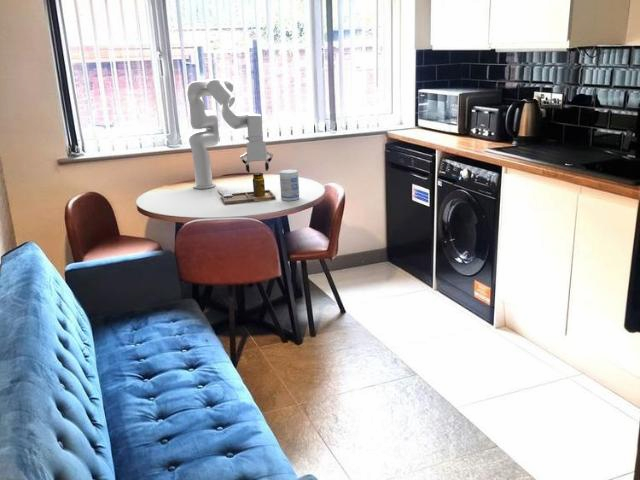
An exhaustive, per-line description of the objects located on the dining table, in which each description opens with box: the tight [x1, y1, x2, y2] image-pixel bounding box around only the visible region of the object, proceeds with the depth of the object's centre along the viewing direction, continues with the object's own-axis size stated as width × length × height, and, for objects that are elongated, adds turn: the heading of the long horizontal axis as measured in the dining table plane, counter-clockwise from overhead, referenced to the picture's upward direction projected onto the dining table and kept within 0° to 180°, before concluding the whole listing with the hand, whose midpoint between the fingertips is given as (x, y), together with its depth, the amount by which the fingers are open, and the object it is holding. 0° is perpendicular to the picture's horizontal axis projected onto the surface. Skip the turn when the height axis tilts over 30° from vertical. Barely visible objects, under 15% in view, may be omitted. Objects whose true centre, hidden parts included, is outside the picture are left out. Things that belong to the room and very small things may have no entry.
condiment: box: [249, 172, 268, 198], centre depth 311 cm, size 7×8×12 cm
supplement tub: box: [279, 169, 300, 202], centre depth 305 cm, size 10×10×15 cm
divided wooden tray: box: [220, 189, 276, 206], centre depth 311 cm, size 16×26×2 cm, turn 105°
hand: (257, 171), depth 309 cm, fingers open, 9 cm apart
